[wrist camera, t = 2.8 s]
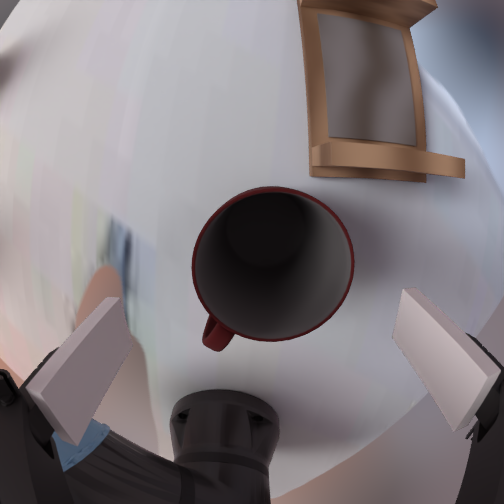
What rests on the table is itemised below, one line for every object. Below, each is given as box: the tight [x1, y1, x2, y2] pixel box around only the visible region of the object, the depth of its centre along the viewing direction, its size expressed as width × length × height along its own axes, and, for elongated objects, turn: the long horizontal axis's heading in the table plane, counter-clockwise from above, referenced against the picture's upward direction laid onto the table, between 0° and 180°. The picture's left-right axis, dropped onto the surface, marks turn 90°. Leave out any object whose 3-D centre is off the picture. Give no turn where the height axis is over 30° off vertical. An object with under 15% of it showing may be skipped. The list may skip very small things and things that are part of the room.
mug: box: [192, 186, 355, 352], centre depth 20 cm, size 12×9×11 cm
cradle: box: [297, 0, 465, 183], centre depth 17 cm, size 12×20×7 cm, turn 2°
